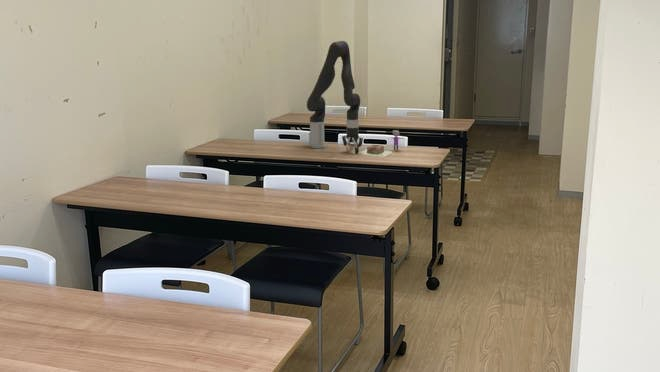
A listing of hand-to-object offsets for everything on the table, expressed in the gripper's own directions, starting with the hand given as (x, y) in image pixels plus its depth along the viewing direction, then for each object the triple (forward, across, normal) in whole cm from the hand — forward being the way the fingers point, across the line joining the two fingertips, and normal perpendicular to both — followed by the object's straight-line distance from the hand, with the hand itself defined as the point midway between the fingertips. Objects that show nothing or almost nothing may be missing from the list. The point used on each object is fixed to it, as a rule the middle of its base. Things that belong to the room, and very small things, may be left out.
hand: (352, 152), depth 389 cm
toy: (+1, +23, +15) cm, 28 cm away
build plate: (+1, +13, +6) cm, 14 cm away
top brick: (+1, 0, 0) cm, 1 cm away
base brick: (0, +13, +6) cm, 14 cm away
